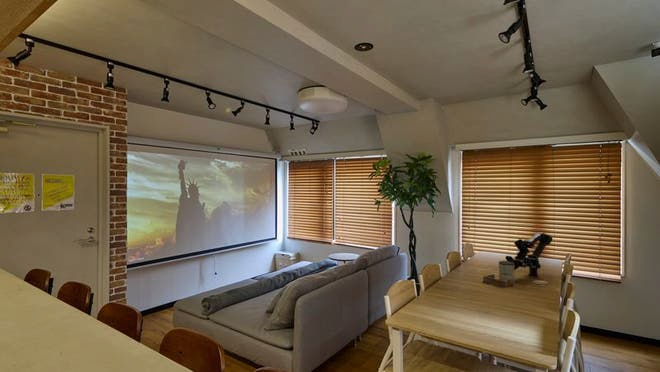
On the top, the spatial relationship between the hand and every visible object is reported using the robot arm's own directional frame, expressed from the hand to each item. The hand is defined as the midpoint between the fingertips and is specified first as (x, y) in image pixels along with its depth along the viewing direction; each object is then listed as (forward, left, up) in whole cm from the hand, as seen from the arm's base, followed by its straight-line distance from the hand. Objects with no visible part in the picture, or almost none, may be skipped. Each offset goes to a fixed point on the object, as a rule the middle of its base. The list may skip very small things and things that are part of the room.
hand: (514, 269), depth 243 cm
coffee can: (+8, -4, -7) cm, 12 cm away
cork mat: (+1, +16, -7) cm, 18 cm away
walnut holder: (+16, -9, -7) cm, 20 cm away
